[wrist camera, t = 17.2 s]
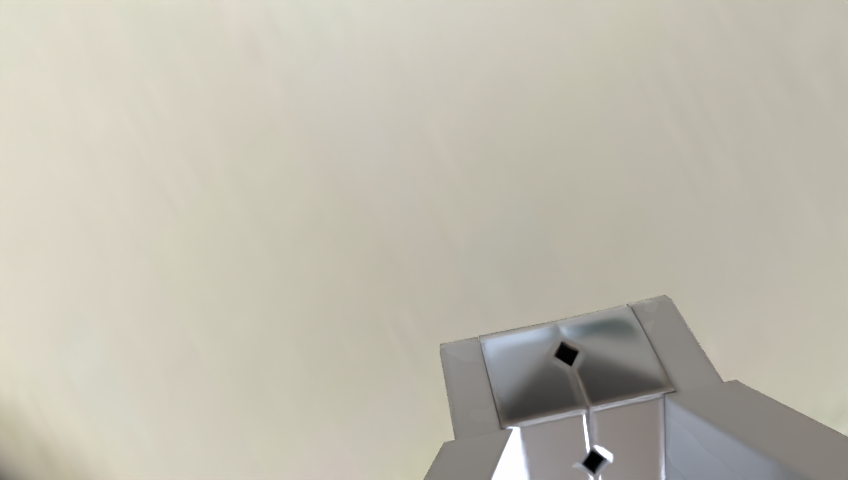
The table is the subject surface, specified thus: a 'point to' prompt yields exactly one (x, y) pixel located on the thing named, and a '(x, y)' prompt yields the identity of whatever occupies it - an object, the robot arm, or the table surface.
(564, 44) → the table surface
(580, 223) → the table surface
